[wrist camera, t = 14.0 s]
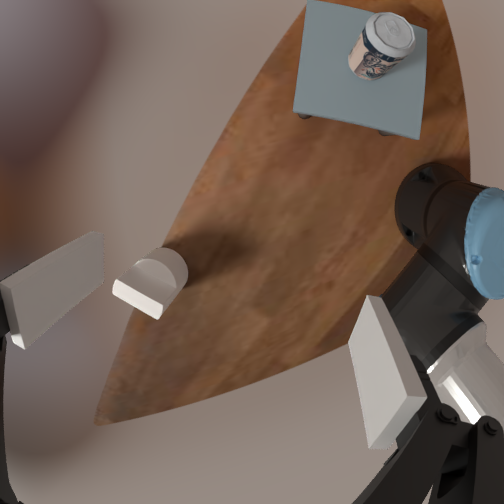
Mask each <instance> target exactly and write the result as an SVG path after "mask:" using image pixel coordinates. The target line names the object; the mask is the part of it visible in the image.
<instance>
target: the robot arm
mask: <svg viewBox="0 0 504 504" xmlns="http://www.w3.org/2000/svg"><path fill="white" fill-rule="evenodd" d="M395 218H396V222H397V225H398V228H399V230H400V232H401V233H402V235H403V236H404V238H405V239H406V240H407V241H408V242H409V243H410V244H411V245H413V246H414V247H415V248H417V249H418V251H417V252H416V253H415V254H414V256H413V257H412V258H411V259H410V261H409V262H408V263H407V265H406V266H405V267H404V268H403V270H402V271H401V272H400V274H399V275H398V276H397V277H396V279H395V280H394V281H393V282H392V283H391V285H390V286H389V287H388V288H387V289H386V291H385V292H384V293H383V294H381V295H380V296H379V297H375V296H370V295H367V297H366V299H365V302H364V304H363V307H362V310H361V312H360V315H359V317H358V320H357V322H356V325H355V327H354V329H353V332H352V334H351V337H350V339H349V341H348V344H349V348H350V353H351V357H352V362H353V367H354V371H355V376H356V381H357V386H358V391H359V395H360V401H361V407H362V412H363V418H364V423H365V429H366V435H367V441H368V447H369V449H388V448H389V447H390V446H391V445H392V443H393V442H394V441H395V440H396V442H397V446H398V449H396V451H395V452H394V453H393V454H392V455H391V456H390V457H389V458H388V460H387V461H386V462H385V463H384V466H383V468H382V469H381V470H380V471H379V473H378V474H377V475H376V477H375V478H374V479H373V480H372V481H371V482H370V484H369V485H368V486H367V487H366V488H365V490H364V491H363V492H362V493H361V494H360V495H359V497H358V498H357V499H356V500H355V501H354V502H353V503H352V504H422V502H423V501H424V499H425V497H426V496H427V494H428V492H429V490H430V489H431V487H432V485H433V487H432V491H431V495H430V499H429V503H428V504H504V364H503V363H502V362H501V360H500V359H499V358H498V357H497V355H496V354H495V353H494V352H493V351H492V350H491V348H490V347H489V346H488V345H487V343H486V324H485V322H484V321H483V320H482V319H481V318H480V317H479V316H478V312H479V311H480V310H481V309H482V307H483V306H484V305H485V303H486V302H487V301H488V300H489V299H503V298H504V191H503V190H500V189H499V188H490V187H487V186H483V185H480V184H476V183H472V182H468V181H467V180H466V179H465V178H464V177H463V176H462V175H461V174H460V173H459V172H458V171H457V170H455V169H453V168H452V167H449V166H447V165H442V164H436V163H430V164H424V165H421V166H419V167H417V168H415V169H414V170H412V171H411V172H410V173H409V174H408V175H407V176H406V177H405V179H404V180H403V181H402V183H401V185H400V187H399V189H398V192H397V195H396V200H395ZM102 283H104V234H102V233H98V232H94V231H91V232H89V233H87V234H85V235H83V236H82V237H79V238H78V239H76V240H74V241H72V242H70V243H68V244H66V245H64V246H63V247H60V248H59V249H57V250H55V251H53V252H51V253H49V254H48V255H46V256H44V257H42V258H40V259H39V260H37V261H35V262H33V263H31V264H29V265H26V266H25V267H23V268H21V269H20V270H19V271H16V272H14V273H13V275H12V274H11V275H9V276H8V277H6V278H4V279H3V280H1V281H0V504H23V503H22V502H21V501H19V502H18V501H17V498H16V496H15V494H14V492H13V490H12V488H11V486H10V483H9V479H8V471H7V463H6V454H5V442H4V426H3V425H4V424H3V386H4V365H5V354H6V344H7V341H6V337H5V334H6V333H8V332H9V331H10V333H11V336H12V340H13V343H15V344H16V345H18V346H20V347H22V348H23V349H26V348H28V347H29V346H30V345H31V344H32V343H33V342H34V341H35V340H36V339H37V338H39V337H40V336H41V335H42V334H43V333H44V332H45V331H46V330H47V329H48V328H50V327H51V326H52V325H53V324H55V323H56V322H57V321H58V320H59V319H60V318H61V317H63V316H64V315H65V314H66V313H67V312H68V311H70V309H72V308H73V307H74V306H76V305H77V304H78V303H79V302H80V301H81V300H83V299H84V298H85V297H86V296H88V295H89V294H90V293H91V292H92V291H93V290H95V289H96V288H97V287H99V286H100V285H101V284H102Z"/></svg>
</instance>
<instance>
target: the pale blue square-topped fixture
mask: <svg viewBox="0 0 504 504" xmlns="http://www.w3.org/2000/svg"><path fill="white" fill-rule="evenodd" d="M374 14H376V13H373V12H369V11H365V10H361V9H357V8H352V7H348V6H343V5H338V4H333V3H327V2H321V1H315V0H307V6H306V15H305V23H304V31H303V39H302V47H301V54H300V62H299V70H298V77H297V84H296V92H295V99H294V106H293V112H294V113H298V115H299V117H300V118H302V119H307V118H309V117H310V115H312V116H317V117H323V118H328V119H333V120H338V121H343V122H348V123H352V124H357V125H361V126H365V127H370V128H374V129H378V131H379V133H380V134H381V135H382V136H389V135H400V136H404V137H407V138H410V139H414V140H419V137H420V129H421V121H422V113H423V103H424V92H425V78H426V59H427V30H426V29H424V28H421V27H418V26H415V25H413V24H410V23H409V24H410V25H411V26H412V27H413V31H414V34H415V39H416V44H415V48H414V49H413V51H412V52H411V53H410V54H409V55H408V56H407V57H405V58H404V59H403V60H402V61H400V62H399V63H398V64H397V65H395V66H394V67H393V68H392V69H390V70H389V71H388V72H387V73H385V74H384V75H383V76H382V77H381V78H379V79H376V80H371V81H369V80H364V79H362V78H359V77H358V76H356V75H355V74H354V73H353V72H352V70H351V69H350V67H349V64H348V55H349V53H350V51H351V50H352V48H353V47H354V45H355V43H356V41H357V39H358V38H359V36H360V34H361V32H362V31H363V29H364V27H365V25H366V23H367V21H368V19H369V18H370V17H371V16H372V15H374Z"/></svg>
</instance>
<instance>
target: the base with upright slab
mask: <svg viewBox="0 0 504 504" xmlns="http://www.w3.org/2000/svg"><path fill="white" fill-rule="evenodd" d="M187 279H188V269H187V265H186V263H185V261H184V259H183V258H182V257H181V256H180V255H179V254H178V253H177V252H175V251H174V250H172V249H169V248H162V247H161V248H156V249H154V250H152V251H151V252H149V253H148V254H147V255H146V256H144V257H143V258H142V259H140V260H139V261H138V262H137V263H136V264H135V265H134V266H132V267H131V268H130V269H129V270H127V271H126V272H125V273H123V274H122V275H121V276H120V277H119V278H117V279H116V280H115V283H114V285H113V294H114V295H115V296H117V297H119V298H120V299H122V300H124V301H125V302H127V303H129V304H131V305H132V306H134V307H136V308H138V309H139V310H141V311H143V312H145V313H146V314H148V315H150V316H152V317H154V318H155V319H157V320H158V319H159V318H160V316H161V315H162V314H163V313H164V311H165V310H166V309H167V307H168V306H169V305H170V303H171V302H172V301H173V300H174V298H175V297H176V296H177V294H178V293H179V292H180V291H181V289H182V288H183V287H184V285H185V284H186V282H187Z"/></svg>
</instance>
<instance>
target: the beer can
mask: <svg viewBox="0 0 504 504" xmlns="http://www.w3.org/2000/svg"><path fill="white" fill-rule="evenodd" d="M415 44H416V39H415V34H414V31H413V27H412V26H411V25H410V24H409V23H408V22H407V21H406V19H405V18H404V17H401V16H399V15H397V14H394V13H392V12H380V13H376V14H374V15H372V16H371V17H370V18H369V19H368V21H367V23H366V25H365V27H364V29H363V31H362V32H361V34H360V36H359V38H358V39H357V41H356V43H355V45H354V47H353V48H352V50H351V51H350V53H349V55H348V64H349V67H350V69H351V70H352V72H353V73H354V74H355V75H356V76H358V77H359V78H362V79H364V80H369V81H371V80H376V79H379V78H381V77H382V76H383V75H384V74H385V73H387V72H388V71H389V70H390V69H392V68H393V67H394V66H395V65H397V64H398V63H399V62H400V61H402V60H403V59H404V58H405V57H407V56H408V55H409V54H410V53H411V52H412V51H413V49H414V48H415Z"/></svg>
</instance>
